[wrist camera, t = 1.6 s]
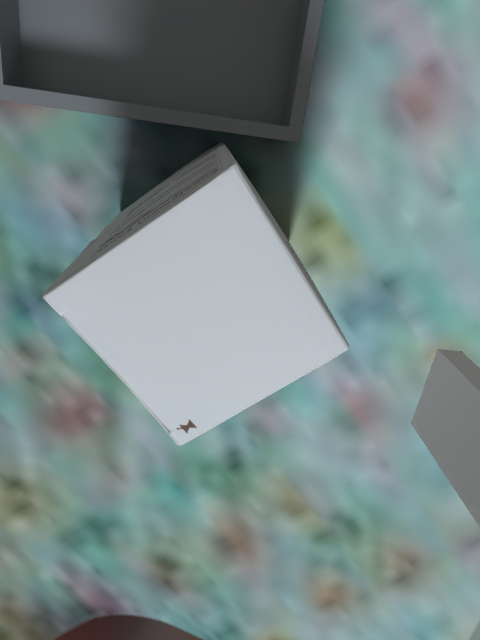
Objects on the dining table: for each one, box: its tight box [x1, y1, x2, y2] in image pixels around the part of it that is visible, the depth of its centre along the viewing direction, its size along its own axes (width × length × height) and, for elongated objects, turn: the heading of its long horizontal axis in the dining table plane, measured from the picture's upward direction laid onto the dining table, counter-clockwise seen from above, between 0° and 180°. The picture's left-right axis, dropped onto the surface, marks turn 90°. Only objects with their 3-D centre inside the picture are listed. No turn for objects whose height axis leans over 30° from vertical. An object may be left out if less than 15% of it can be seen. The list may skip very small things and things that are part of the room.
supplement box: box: [43, 142, 349, 446], centre depth 26 cm, size 10×9×17 cm
